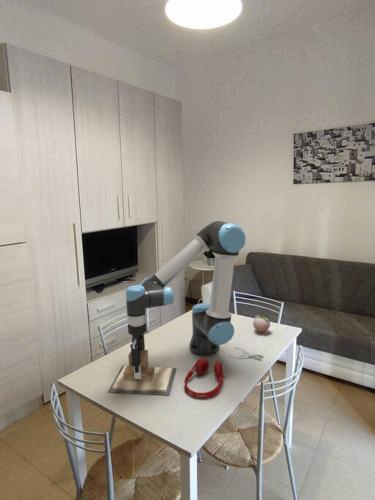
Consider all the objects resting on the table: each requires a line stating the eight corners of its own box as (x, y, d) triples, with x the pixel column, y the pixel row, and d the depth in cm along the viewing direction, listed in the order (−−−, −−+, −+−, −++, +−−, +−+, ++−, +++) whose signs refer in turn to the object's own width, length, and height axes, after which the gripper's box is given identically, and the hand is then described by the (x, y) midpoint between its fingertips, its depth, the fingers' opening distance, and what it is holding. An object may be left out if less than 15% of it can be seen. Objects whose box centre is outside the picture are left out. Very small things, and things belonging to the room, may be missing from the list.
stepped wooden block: (154, 373, 142) (153, 350, 139) (152, 380, 137) (151, 356, 135) (127, 372, 143) (126, 349, 141) (123, 378, 138) (122, 355, 136)
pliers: (235, 345, 166) (264, 351, 158) (235, 348, 166) (264, 354, 159) (228, 354, 157) (258, 361, 150) (228, 357, 158) (258, 364, 150)
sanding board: (176, 368, 148) (176, 365, 148) (169, 395, 129) (169, 392, 129) (122, 366, 151) (122, 363, 150) (107, 392, 132) (107, 389, 132)
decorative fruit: (250, 333, 181) (250, 316, 179) (255, 327, 187) (255, 311, 185) (266, 337, 176) (267, 319, 174) (271, 331, 183) (272, 314, 180)
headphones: (197, 366, 149) (179, 398, 132) (196, 353, 146) (177, 384, 129) (229, 373, 143) (214, 407, 126) (228, 359, 141) (213, 392, 123)
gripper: (133, 314, 144) (136, 362, 149) (121, 332, 127) (124, 386, 131) (150, 314, 143) (152, 363, 148) (140, 333, 126) (143, 387, 130)
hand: (139, 374), depth 140 cm, fingers closed on stepped wooden block, 5 cm apart
